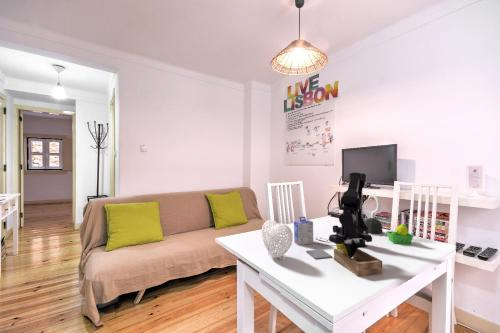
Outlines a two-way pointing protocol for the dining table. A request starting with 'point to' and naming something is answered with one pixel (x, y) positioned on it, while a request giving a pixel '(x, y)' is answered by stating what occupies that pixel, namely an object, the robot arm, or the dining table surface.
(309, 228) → the ink cartridge box
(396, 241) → the fruit basket
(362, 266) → the shelf bay
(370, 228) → the hook
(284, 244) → the decorative heart
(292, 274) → the dining table surface
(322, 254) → the coaster
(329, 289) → the dining table surface
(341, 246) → the pill bottle
